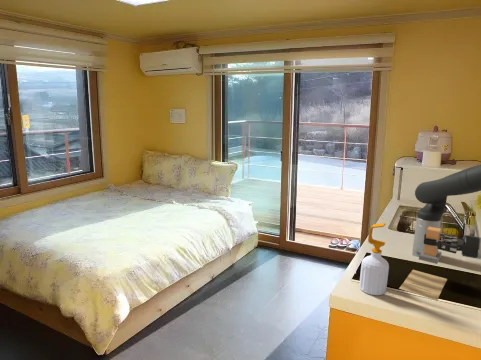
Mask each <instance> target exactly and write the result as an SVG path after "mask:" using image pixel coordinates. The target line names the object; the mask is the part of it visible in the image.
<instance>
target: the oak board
mask: <svg viewBox="0 0 481 360" xmlns="http://www.w3.org/2000/svg"><path fill="white" fill-rule="evenodd" d="M447 281H448V278H445V277H441V276H438V275H433V274H430V273H426V272H423V271H419V270H415V269H412V270H411V272H410V273H409V274H408V275H407V277H406V278H405V280H404V282H403V283H402V284H401V285H400V287H399V288H398V289H399V290H402V291H404V292H405V291H406V292H409V293H412V294H416V295H419V296H420V297H421V296H422V297H425V298H428V299H430V300H435V301H438V299H439V297H440V295H441V293H442V291H443V290H444V286H445V285H446V283H447Z"/></svg>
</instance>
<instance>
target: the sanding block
mask: <svg viewBox="0 0 481 360" xmlns="http://www.w3.org/2000/svg"><path fill="white" fill-rule="evenodd" d="M440 234H442V228H434V227H428V229H427V233H426V238H429V239H435V240H440ZM442 254H443V252H442V251H440V250H439V249H437V247H435V246H432V245H426V244H425V248H424V249H423V251H422V252H421V254H420V255H419V257H418V260H419V261H424V262H427V263H432V264H434V265H435V264H437V265H438V263H439V261H440V259H441V257H442Z"/></svg>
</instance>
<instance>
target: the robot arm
mask: <svg viewBox="0 0 481 360" xmlns="http://www.w3.org/2000/svg"><path fill="white" fill-rule="evenodd" d="M477 192H481V164H478V165H477V164H476V165H474V166H469V167H468V168H464V169H462V170H460V171H457V172H455V173H452V174H449V175H446V176H444V177H442V178H439V179H435V180H429V181H425V182H421V183H420V184H418V185H417V187H416V188H415V191H414V196H415V198H416V200H417V201H419V203H422V204H425V205H424V206H422V208H420V209H418V210H417V212H416V213H417V215H416V221H415V229H414V235H413V236H414V237H413V244H412V251H411V253H412V256H414V257H417V258H419V255H420V254H421V252H422V251H423V249H424V248H425V244H426V245H432V246H435V247H437V249H438V251H440V250H441V251H443V252H448V253H452V254H457V251H458V252H461V256H462V257H466V258H472V259H475V260H476V259H477V260H481V236H475V235H474V236H473V235H469V234H465V235H464V236H463V238H462V239H460V238H458V237H456V235H455V234H447V233H446V234H445V233H441V234H440V240H435V239H429V238H426V233H427V229H428V227H434V228H439V229H441V228H440V227H441V221H442V216H443V215H444V214H445V209H446V204H447V199H448V197H449V196H451V197H452V196H462V195H469V194H473V193H474V194H475V193H477Z"/></svg>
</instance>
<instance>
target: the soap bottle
mask: <svg viewBox="0 0 481 360" xmlns="http://www.w3.org/2000/svg"><path fill="white" fill-rule="evenodd" d="M385 226H386V223H385V222H380V223H374V224H372V225H371V226H370V228H369V230H368V238H367V242H368V243H369V244H370V245H373V247H374V248H372V249H371V252H370V255H367V256H365V257H363V258H362V260H361V266H360V276H359V286H358V287H359V290H361V291H362V292H364V293H365V294H368V295H371V296H382V295H385V294H386V293H387V286H388V277H389V272H390V271H389V270H390V265H389V262H388V261H387V260H386V259H385V258H383V257H382V253H383V251H382V249H380V248H381V247H384V246H385V245H386V242H385V241H382V240H377V239H374V238H373V229H376V228H377V229H378V228H384V227H385Z"/></svg>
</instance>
